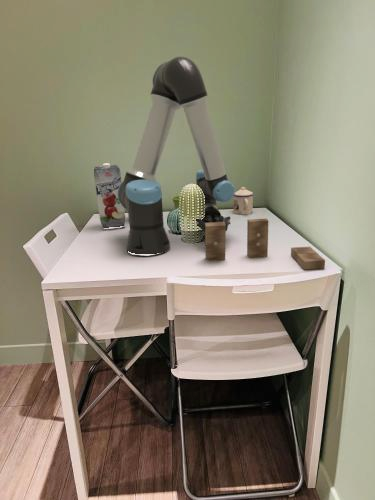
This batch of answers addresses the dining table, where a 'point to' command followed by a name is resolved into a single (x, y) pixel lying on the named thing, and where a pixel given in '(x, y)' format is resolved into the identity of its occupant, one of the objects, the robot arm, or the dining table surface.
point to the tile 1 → (215, 240)
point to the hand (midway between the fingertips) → (219, 234)
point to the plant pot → (176, 201)
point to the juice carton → (109, 195)
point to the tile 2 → (257, 238)
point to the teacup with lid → (243, 201)
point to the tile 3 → (307, 258)
